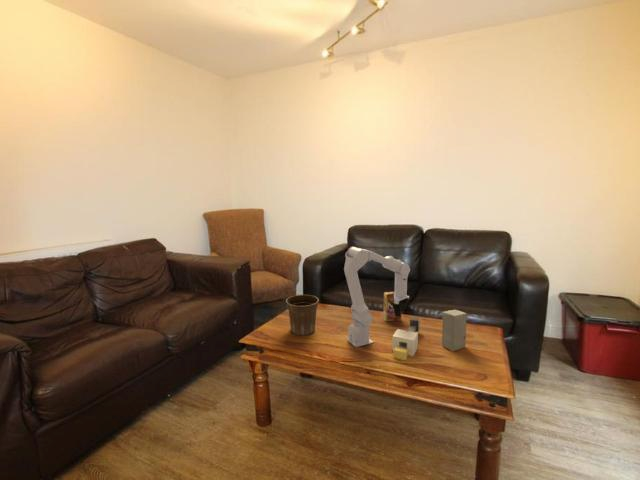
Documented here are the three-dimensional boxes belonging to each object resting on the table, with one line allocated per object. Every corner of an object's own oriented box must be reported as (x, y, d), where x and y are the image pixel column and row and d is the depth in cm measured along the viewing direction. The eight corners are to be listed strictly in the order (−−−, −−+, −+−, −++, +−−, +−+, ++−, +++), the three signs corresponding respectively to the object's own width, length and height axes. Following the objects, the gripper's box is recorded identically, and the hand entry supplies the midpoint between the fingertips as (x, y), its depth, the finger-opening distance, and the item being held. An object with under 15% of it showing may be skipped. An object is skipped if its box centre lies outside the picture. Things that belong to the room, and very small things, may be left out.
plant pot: (322, 335, 154) (322, 303, 152) (289, 339, 151) (288, 307, 148) (315, 322, 170) (314, 293, 168) (285, 325, 166) (284, 296, 164)
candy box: (385, 321, 169) (386, 294, 167) (383, 318, 173) (383, 291, 171) (401, 320, 170) (402, 293, 168) (398, 317, 174) (399, 290, 172)
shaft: (409, 348, 137) (409, 336, 137) (400, 346, 139) (400, 334, 139) (419, 329, 156) (419, 318, 155) (411, 327, 158) (411, 317, 157)
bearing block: (413, 356, 134) (413, 340, 133) (392, 351, 138) (392, 336, 137) (417, 347, 141) (418, 332, 140) (397, 343, 145) (397, 328, 144)
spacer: (407, 357, 133) (405, 360, 131) (395, 354, 136) (393, 357, 133) (407, 349, 133) (405, 352, 130) (395, 346, 135) (393, 349, 133)
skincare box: (453, 352, 137) (454, 316, 134) (440, 345, 143) (441, 311, 140) (466, 347, 140) (468, 313, 138) (453, 340, 147) (454, 307, 144)
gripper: (405, 291, 144) (404, 320, 146) (412, 283, 157) (411, 310, 159) (389, 289, 148) (389, 317, 150) (398, 282, 160) (397, 307, 162)
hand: (400, 313), depth 155 cm, fingers open, 7 cm apart
